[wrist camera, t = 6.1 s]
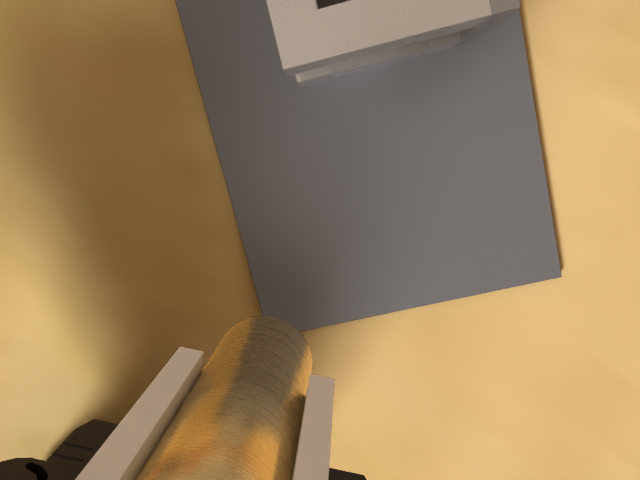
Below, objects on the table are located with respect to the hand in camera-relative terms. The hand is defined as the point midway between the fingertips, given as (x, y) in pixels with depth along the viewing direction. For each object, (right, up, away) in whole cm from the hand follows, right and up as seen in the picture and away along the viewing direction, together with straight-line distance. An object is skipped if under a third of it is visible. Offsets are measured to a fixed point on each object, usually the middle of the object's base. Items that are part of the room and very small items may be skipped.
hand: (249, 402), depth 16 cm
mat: (+5, +13, +15) cm, 21 cm away
